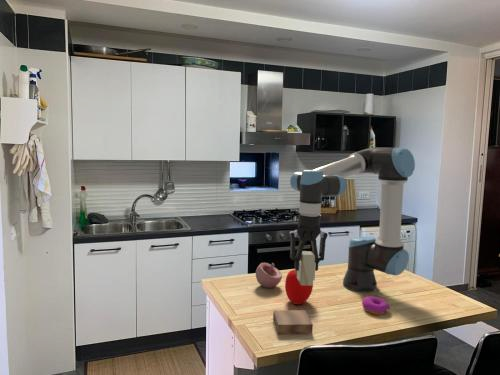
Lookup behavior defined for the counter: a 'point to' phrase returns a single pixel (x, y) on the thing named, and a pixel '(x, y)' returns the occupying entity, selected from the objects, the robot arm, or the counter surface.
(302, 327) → the walnut block
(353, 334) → the counter surface
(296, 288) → the tomato
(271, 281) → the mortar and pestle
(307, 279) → the box
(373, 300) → the donut
